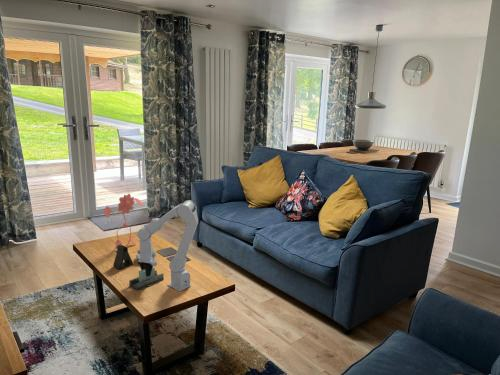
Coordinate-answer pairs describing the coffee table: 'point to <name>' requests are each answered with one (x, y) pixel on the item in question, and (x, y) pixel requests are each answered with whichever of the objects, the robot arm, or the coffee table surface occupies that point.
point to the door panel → (143, 275)
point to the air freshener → (152, 252)
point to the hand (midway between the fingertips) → (146, 275)
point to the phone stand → (122, 258)
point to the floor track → (136, 285)
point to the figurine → (124, 206)
